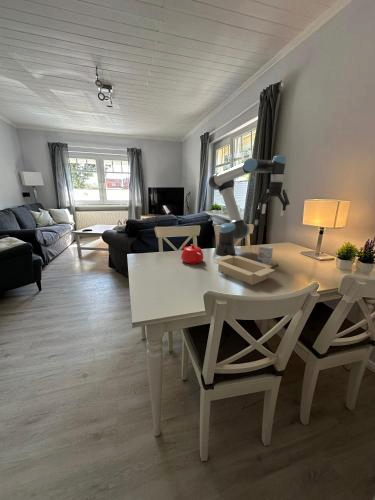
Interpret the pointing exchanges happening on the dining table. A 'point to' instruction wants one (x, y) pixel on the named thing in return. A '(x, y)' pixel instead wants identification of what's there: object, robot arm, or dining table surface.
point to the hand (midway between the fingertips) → (272, 214)
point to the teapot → (192, 254)
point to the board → (272, 264)
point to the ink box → (265, 254)
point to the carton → (243, 268)
